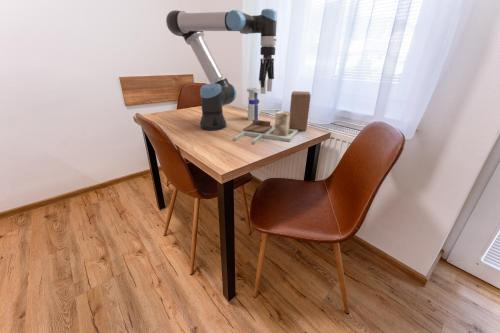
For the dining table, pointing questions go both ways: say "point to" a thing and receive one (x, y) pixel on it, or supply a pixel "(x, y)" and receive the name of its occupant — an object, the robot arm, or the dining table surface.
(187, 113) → the dining table surface
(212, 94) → the robot arm
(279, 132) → the beech block
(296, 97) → the wooden block
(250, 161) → the dining table surface
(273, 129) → the puzzle board
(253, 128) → the walnut lid
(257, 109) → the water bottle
